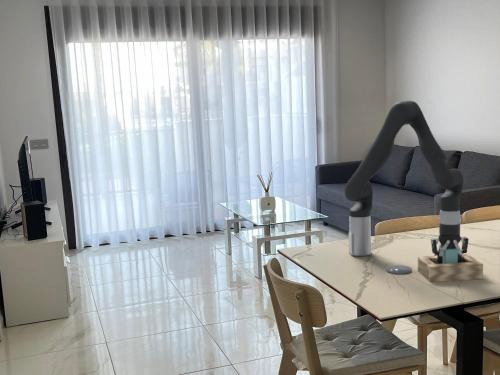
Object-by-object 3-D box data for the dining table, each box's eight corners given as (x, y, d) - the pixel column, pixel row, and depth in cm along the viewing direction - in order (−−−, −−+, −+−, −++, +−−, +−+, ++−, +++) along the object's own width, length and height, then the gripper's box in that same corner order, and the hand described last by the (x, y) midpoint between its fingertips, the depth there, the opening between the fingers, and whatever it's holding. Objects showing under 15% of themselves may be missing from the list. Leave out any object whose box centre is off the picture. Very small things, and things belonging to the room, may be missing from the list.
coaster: (389, 275, 228) (389, 273, 228) (383, 267, 238) (383, 265, 238) (415, 273, 229) (415, 271, 229) (407, 266, 239) (407, 264, 238)
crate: (429, 281, 218) (429, 266, 217) (417, 271, 232) (417, 256, 231) (482, 278, 219) (483, 263, 218) (467, 268, 232) (467, 254, 232)
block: (445, 270, 222) (445, 250, 221) (441, 267, 227) (441, 247, 226) (457, 269, 223) (457, 249, 221) (453, 266, 227) (453, 246, 226)
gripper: (434, 224, 218) (434, 268, 221) (472, 222, 219) (472, 266, 221) (427, 220, 226) (427, 262, 228) (464, 218, 226) (464, 260, 228)
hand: (449, 264), depth 225 cm, fingers open, 6 cm apart
